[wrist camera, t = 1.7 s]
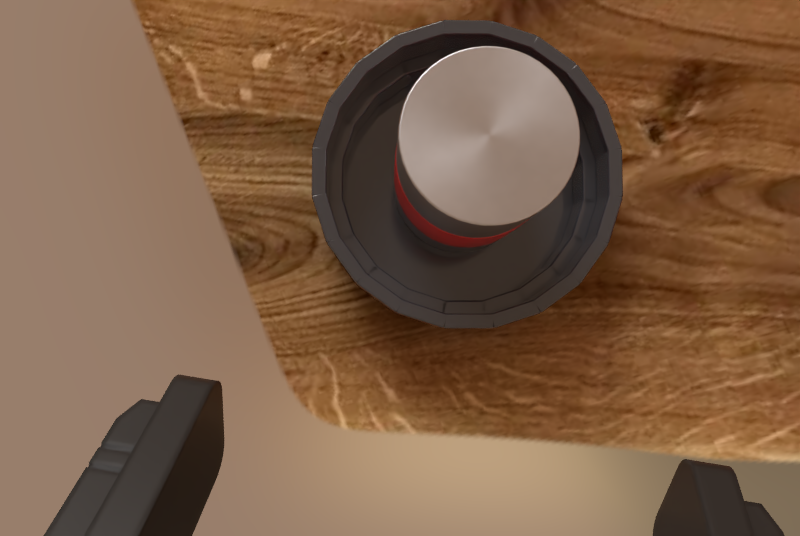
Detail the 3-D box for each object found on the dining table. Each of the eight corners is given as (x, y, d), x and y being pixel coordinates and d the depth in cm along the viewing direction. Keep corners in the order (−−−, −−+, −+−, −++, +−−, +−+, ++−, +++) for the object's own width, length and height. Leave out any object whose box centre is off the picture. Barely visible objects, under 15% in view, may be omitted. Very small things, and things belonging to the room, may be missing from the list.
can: (416, 270, 34) (430, 250, 24) (375, 145, 35) (373, 75, 25) (542, 230, 35) (606, 194, 25) (500, 106, 35) (547, 21, 25)
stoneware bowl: (369, 363, 35) (367, 369, 30) (285, 101, 35) (272, 72, 31) (631, 277, 35) (665, 272, 31) (543, 21, 36) (564, -18, 32)
